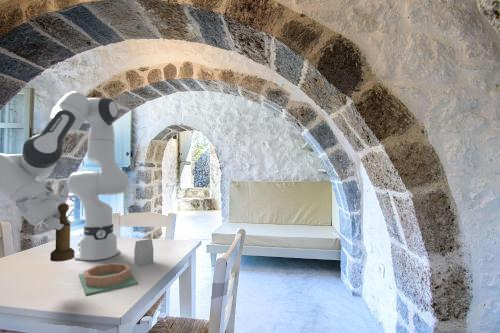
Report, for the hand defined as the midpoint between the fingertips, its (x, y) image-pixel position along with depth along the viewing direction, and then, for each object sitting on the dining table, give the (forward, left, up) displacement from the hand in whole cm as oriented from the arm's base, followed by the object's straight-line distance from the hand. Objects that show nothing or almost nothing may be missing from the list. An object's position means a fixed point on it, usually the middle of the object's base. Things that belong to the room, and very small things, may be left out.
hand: (65, 226), depth 94 cm
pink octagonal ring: (-3, +13, -21) cm, 25 cm away
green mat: (-3, +13, -21) cm, 25 cm away
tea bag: (-14, +29, -22) cm, 39 cm away
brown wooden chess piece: (0, -1, -11) cm, 11 cm away
